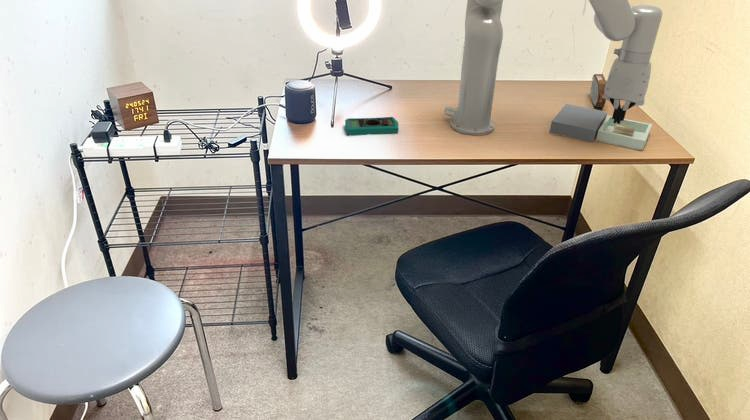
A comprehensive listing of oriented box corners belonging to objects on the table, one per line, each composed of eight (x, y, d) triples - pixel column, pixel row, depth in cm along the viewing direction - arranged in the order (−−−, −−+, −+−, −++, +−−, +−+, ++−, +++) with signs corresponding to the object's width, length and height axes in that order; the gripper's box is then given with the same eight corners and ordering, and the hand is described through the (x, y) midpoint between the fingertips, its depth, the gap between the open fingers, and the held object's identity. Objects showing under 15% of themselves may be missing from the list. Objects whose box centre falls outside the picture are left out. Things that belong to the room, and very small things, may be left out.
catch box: (595, 140, 152) (598, 130, 151) (605, 125, 162) (607, 115, 160) (642, 151, 147) (645, 140, 146) (649, 134, 157) (652, 124, 155)
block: (632, 134, 150) (630, 141, 151) (635, 128, 154) (633, 135, 155) (613, 130, 152) (611, 137, 153) (616, 124, 156) (614, 131, 157)
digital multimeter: (399, 135, 154) (400, 125, 153) (346, 137, 153) (346, 127, 151) (395, 125, 161) (395, 115, 159) (344, 126, 159) (344, 117, 157)
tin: (603, 111, 171) (610, 85, 167) (593, 111, 172) (599, 84, 167) (597, 95, 184) (603, 70, 179) (587, 94, 184) (593, 69, 180)
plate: (549, 132, 157) (551, 121, 155) (563, 114, 168) (566, 103, 166) (592, 142, 151) (595, 130, 150) (604, 123, 163) (607, 111, 161)
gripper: (601, 55, 144) (586, 120, 154) (663, 64, 138) (643, 132, 148) (607, 48, 150) (592, 112, 159) (667, 57, 143) (647, 123, 153)
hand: (617, 121), depth 153 cm, fingers closed
